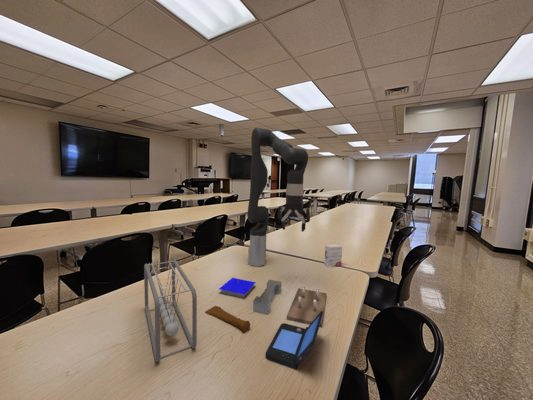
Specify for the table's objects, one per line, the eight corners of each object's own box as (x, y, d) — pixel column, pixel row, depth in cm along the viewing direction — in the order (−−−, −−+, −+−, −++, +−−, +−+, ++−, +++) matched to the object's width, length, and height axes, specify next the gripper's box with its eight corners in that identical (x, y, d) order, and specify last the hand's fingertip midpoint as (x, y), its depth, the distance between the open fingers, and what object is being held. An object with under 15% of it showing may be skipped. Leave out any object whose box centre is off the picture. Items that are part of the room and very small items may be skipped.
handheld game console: (281, 326, 77) (282, 299, 76) (322, 337, 72) (323, 309, 71) (263, 359, 62) (264, 327, 61) (312, 376, 57) (314, 342, 57)
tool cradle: (286, 319, 80) (287, 305, 80) (298, 290, 101) (298, 279, 100) (321, 327, 76) (322, 312, 76) (326, 295, 97) (326, 284, 97)
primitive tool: (204, 313, 83) (204, 304, 83) (215, 306, 87) (215, 298, 87) (244, 336, 72) (244, 325, 72) (254, 327, 76) (255, 317, 76)
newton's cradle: (144, 309, 84) (143, 262, 82) (175, 301, 89) (174, 257, 88) (156, 367, 59) (155, 300, 57) (197, 351, 64) (197, 290, 63)
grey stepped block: (253, 311, 85) (253, 300, 84) (269, 288, 103) (269, 279, 102) (267, 314, 83) (267, 303, 82) (281, 290, 101) (281, 281, 101)
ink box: (337, 263, 136) (338, 243, 135) (341, 266, 131) (342, 246, 130) (323, 263, 134) (324, 244, 133) (327, 267, 130) (328, 246, 128)
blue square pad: (218, 294, 97) (218, 282, 96) (232, 282, 108) (232, 271, 107) (244, 300, 93) (244, 287, 92) (255, 287, 104) (256, 275, 103)
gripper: (276, 193, 100) (275, 230, 101) (309, 195, 95) (307, 233, 97) (281, 193, 107) (280, 227, 108) (312, 194, 102) (310, 230, 104)
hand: (293, 230), depth 103 cm, fingers open, 8 cm apart
